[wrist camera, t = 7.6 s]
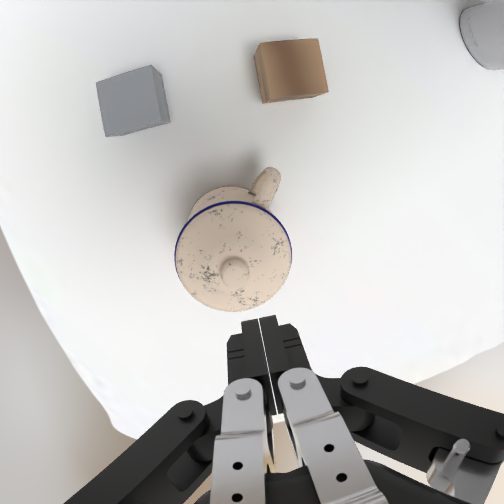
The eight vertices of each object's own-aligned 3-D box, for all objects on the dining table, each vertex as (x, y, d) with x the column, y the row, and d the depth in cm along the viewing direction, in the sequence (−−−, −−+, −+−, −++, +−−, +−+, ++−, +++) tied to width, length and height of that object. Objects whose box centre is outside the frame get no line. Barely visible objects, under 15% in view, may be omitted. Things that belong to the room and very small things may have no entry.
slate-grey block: (161, 74, 27) (151, 65, 22) (170, 122, 28) (161, 120, 24) (113, 89, 26) (95, 82, 22) (122, 135, 28) (105, 136, 24)
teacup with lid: (247, 282, 35) (259, 348, 24) (170, 245, 33) (149, 301, 22) (305, 185, 32) (348, 214, 21) (225, 140, 30) (228, 145, 19)
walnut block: (303, 51, 27) (317, 38, 22) (312, 97, 29) (328, 92, 24) (253, 56, 27) (259, 43, 22) (262, 103, 29) (270, 98, 24)
